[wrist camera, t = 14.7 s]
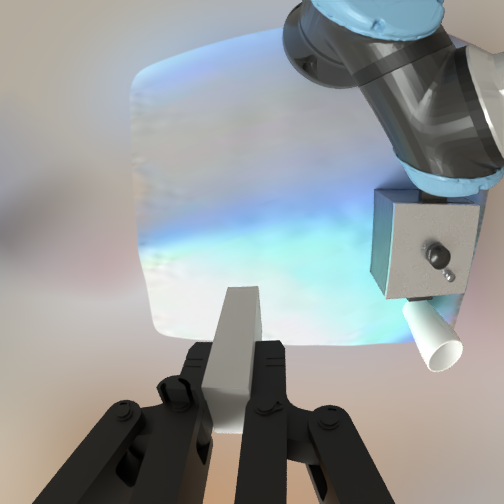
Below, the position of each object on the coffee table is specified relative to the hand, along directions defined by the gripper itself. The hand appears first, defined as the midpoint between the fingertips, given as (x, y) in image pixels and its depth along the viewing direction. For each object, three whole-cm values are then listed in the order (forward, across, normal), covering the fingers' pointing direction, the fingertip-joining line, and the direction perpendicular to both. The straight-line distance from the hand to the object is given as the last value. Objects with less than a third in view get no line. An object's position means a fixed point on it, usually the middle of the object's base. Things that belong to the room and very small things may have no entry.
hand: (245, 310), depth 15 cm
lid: (+24, +24, -8) cm, 35 cm away
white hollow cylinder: (+33, +27, -23) cm, 48 cm away
